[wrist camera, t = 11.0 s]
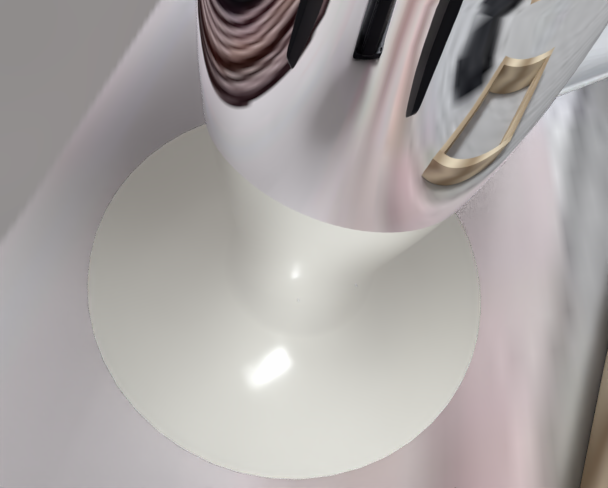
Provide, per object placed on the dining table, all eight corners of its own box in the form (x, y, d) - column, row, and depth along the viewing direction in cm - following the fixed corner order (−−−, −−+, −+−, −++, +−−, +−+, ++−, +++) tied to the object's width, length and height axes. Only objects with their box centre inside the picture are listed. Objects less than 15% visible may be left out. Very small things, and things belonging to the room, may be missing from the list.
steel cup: (179, 242, 19) (76, -291, 6) (316, 171, 22) (456, -314, 9) (276, 389, 17) (443, 77, 4) (414, 291, 20) (796, -96, 7)
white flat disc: (389, 574, 16) (395, 577, 15) (-5, 334, 17) (-12, 330, 17) (515, 218, 23) (522, 211, 22) (231, 71, 25) (231, 63, 24)
